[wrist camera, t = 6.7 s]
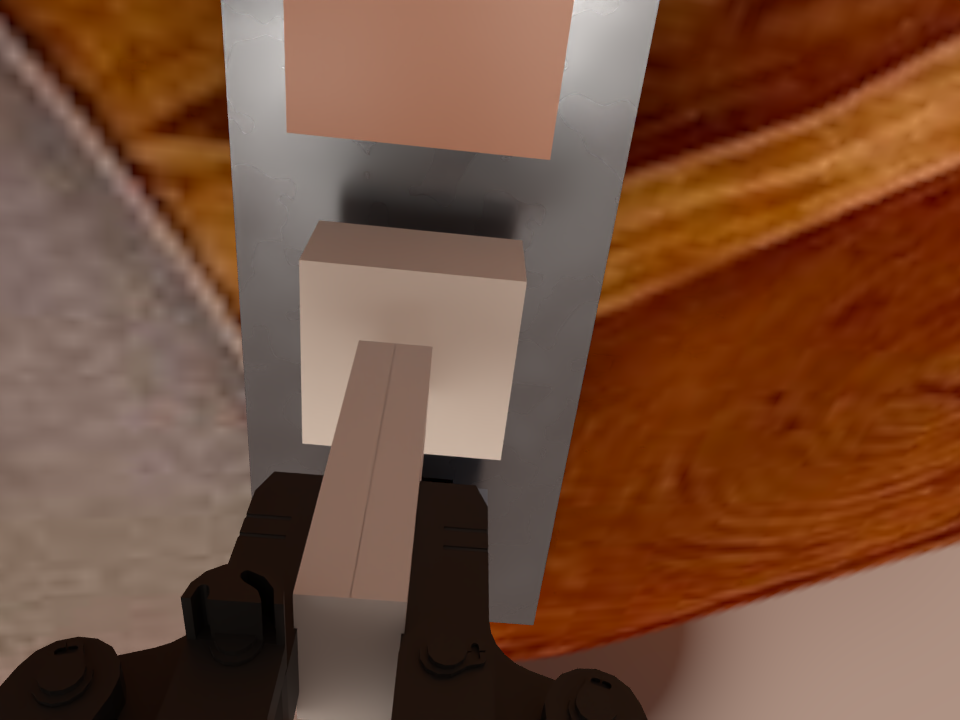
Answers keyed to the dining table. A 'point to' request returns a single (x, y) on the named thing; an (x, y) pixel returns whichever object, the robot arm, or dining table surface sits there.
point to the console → (448, 209)
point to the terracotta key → (428, 72)
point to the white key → (414, 325)
